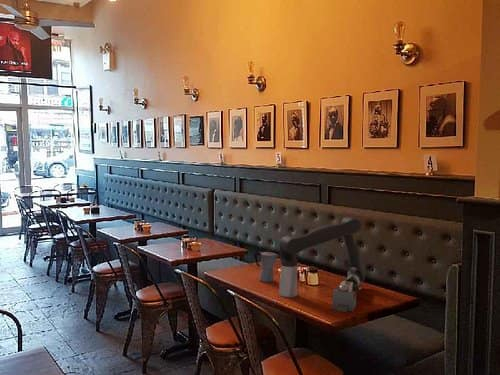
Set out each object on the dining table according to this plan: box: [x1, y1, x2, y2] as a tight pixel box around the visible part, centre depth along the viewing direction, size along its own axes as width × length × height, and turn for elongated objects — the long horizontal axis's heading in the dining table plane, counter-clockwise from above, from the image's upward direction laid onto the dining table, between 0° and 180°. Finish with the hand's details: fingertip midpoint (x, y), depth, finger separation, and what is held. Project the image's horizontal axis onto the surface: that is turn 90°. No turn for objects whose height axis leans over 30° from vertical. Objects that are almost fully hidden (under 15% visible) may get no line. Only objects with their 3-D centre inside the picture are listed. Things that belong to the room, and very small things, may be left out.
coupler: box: [331, 285, 357, 313], centre depth 244 cm, size 10×12×12 cm
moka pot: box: [253, 249, 279, 283], centre depth 295 cm, size 10×15×20 cm, turn 81°
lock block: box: [338, 280, 353, 291], centre depth 247 cm, size 5×10×12 cm, turn 157°
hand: (347, 291), depth 252 cm, fingers closed
